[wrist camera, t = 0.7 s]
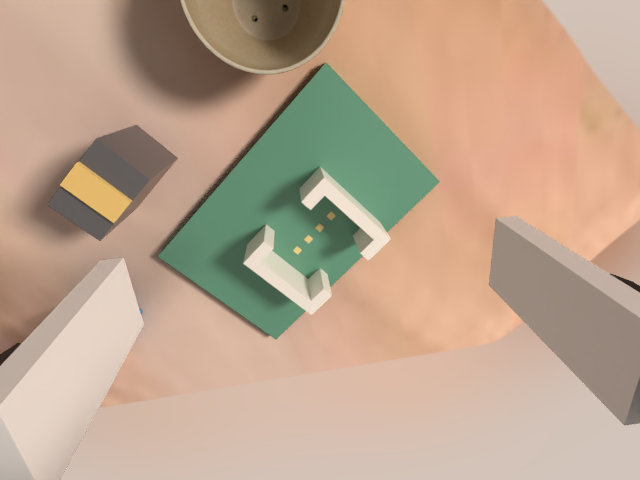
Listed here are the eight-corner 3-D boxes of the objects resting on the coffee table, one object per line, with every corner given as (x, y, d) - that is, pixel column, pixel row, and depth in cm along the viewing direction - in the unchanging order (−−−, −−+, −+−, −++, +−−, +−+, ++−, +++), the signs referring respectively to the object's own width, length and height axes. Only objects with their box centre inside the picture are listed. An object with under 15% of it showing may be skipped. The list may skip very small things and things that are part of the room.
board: (161, 251, 37) (143, 277, 32) (324, 63, 32) (331, 60, 27) (276, 332, 41) (275, 366, 37) (435, 178, 36) (457, 194, 32)
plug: (96, 178, 34) (43, 206, 27) (136, 124, 33) (93, 139, 25) (136, 208, 35) (97, 243, 28) (177, 158, 34) (147, 181, 27)
